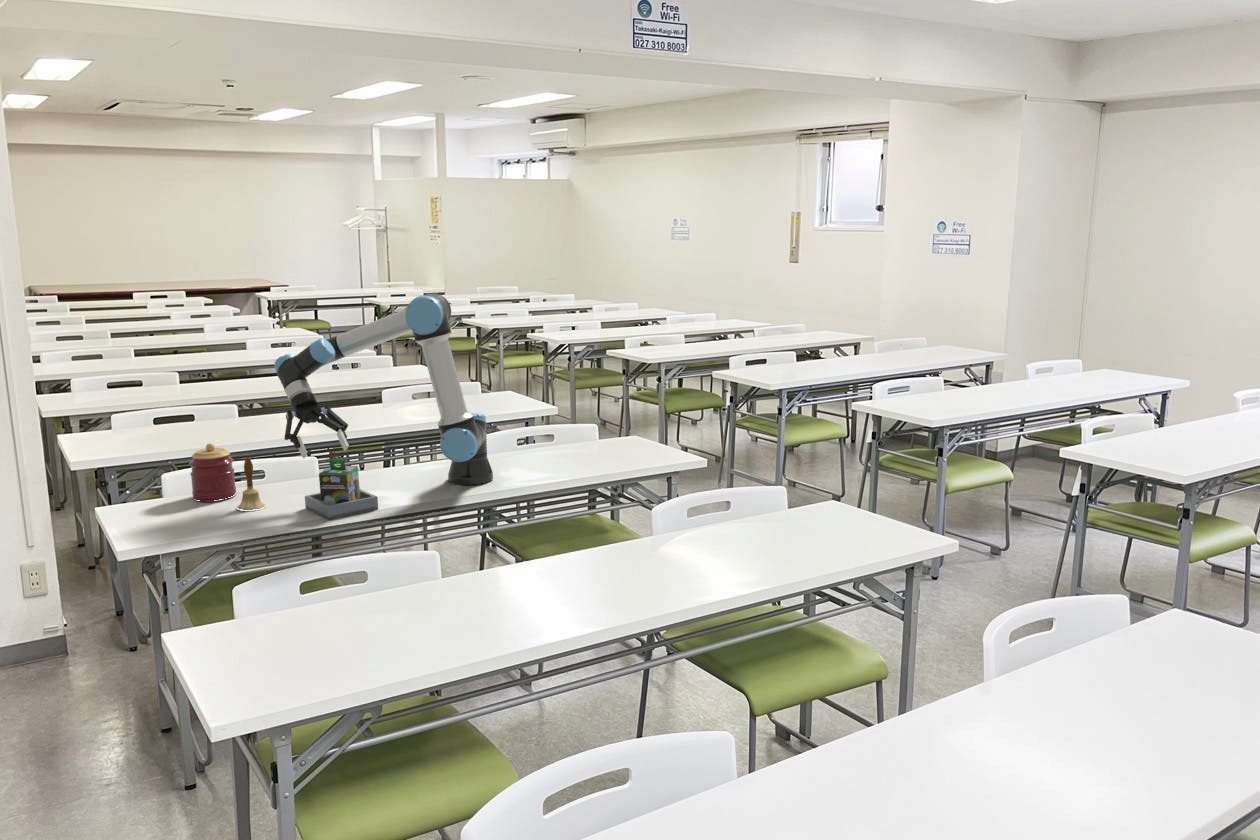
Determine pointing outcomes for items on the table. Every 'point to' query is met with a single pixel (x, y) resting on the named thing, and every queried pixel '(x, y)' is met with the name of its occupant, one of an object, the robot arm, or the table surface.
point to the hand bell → (250, 490)
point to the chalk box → (339, 483)
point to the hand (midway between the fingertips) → (326, 451)
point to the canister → (212, 474)
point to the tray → (341, 505)
